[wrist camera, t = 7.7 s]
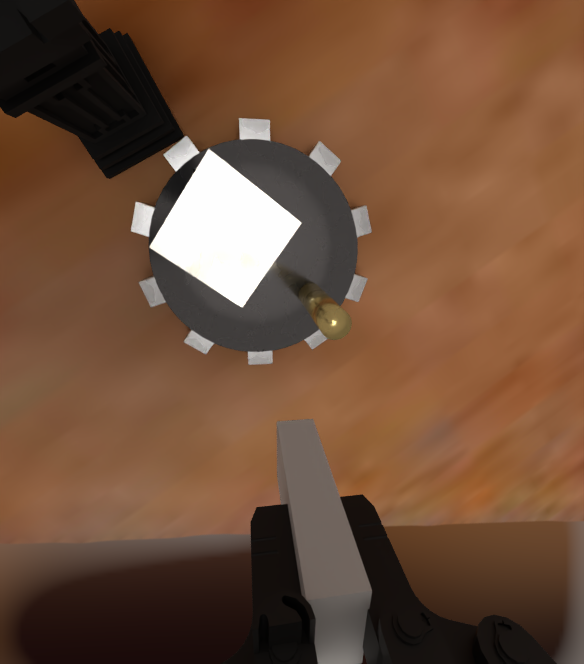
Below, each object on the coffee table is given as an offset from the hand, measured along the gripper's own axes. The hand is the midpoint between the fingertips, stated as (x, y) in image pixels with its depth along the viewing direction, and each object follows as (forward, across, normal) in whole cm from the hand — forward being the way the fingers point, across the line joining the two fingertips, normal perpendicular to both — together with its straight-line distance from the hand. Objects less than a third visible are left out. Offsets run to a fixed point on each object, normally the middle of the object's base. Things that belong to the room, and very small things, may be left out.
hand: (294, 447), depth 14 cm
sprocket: (+23, -1, +5) cm, 24 cm away
